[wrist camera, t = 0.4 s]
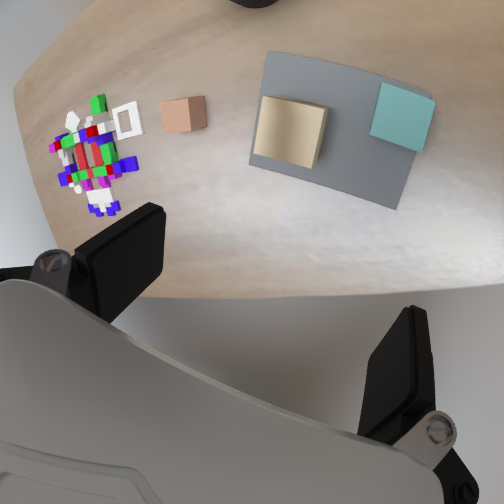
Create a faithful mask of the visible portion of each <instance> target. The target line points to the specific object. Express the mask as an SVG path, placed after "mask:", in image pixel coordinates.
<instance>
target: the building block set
mask: <svg viewBox="0 0 504 504" xmlns="http://www.w3.org/2000/svg"><path fill="white" fill-rule="evenodd" d="M90 100H91V101H90V105H91V110H92V115H91V116H89V117H86V122H87V123H85V124H84V126H85V128H84V129H82V130H79V126H80V124H81V122H82V120H83V119H82V118H81V117H80V116H79V114H78V113H77V112H76V111H75V110H74V111H71V112H69V113H68V115H67V120H66V125H65V127H66V128H68V129H69V130H71V132H72V134H70V135H69V133H66V134H63V135H60V136H57V137H55V141H56V142H54V143H52V144H50V145H48V146H49V150H50V153H53V152H56V151H58V154H59V158H62V162H63V166H65V170H66V172H63V173H59V174H58V178H59V181H60V185H61V186H65V185H69V186H70V187H74V190H75V192H76V194H78V193H82V192H83V191H84V189H86V192H87V196H88V199H89V203H90V204H88V208H89V211H90V213H96V216H97V217H101V216H104V213H103V212H107V214H108V216H114V215H116V213H115V211H120V210H121V208H120V204H119V201H115V198H114V194H113V191H112V187H111V183H110V180H112V179H116V178H119V177H121V176H122V172H123V173H125V172H131V171H137V170H139V166H138V162H137V158H136V156H133V157H128V158H124V159H120V161H119V160H118V156H117V152H115V150H114V145H113V142H112V141H113V136H112V132H111V131H114V130H116V132H117V137H118V140H121V139H125V138H128V137H132V136H136V135H140V134H144V133H145V132H144V127H143V122H142V117H141V112H140V107H139V101H138V100H137V101H134V102H131V103H128V104H125V105H122V106H120V107H117V108H114V109H112V112H113V118H114V120H110V121H109V117H108V112H106V109H105V104H104V103H106V101H105V95H104V94H102V95H98V96H95V97H93V98H91V99H90ZM125 110H128V111H129V116H130V121H131V126H132V131H129V132H125V133H124V132H123V128H122V123H121V118H120V112H123V111H125ZM85 141H88V144H89V143H90V144H91V148H92V152H93V156H94V160H95V165H96V167H91V168H89V166H88V162H87V158H86V154H85V149H84V145H83V142H85ZM72 146H75V151H76V155H77V159H78V163H79V167H80V170H79V171H78V169H77V165H76V163H74V162H73V157H72V154H73V150H72ZM94 177H98V181H99V185H100V186H102V187H103V188H99V189H93V185H92V181H91V178H94ZM80 180H81V182H80ZM81 183H82V184H81Z"/></svg>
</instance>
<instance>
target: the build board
mask: <svg viewBox="0 0 504 504" xmlns="http://www.w3.org/2000/svg"><path fill="white" fill-rule="evenodd" d="M382 82H383V83H386V84H389V85H392V86H395V87H398V88H401V89H404V90H407V91H410V92H412V93H415V94H418V95H420V96H423V97H426V98H428V99H430V95H431V93H428V92H426V91H423V90H421V89H418V88H415V87H412V86H410V85H407V84H404V83H401V82H398V81H395V80H392V79H389V78H386V77H383V76H380V75H376V74H373V73H370V72H366V71H363V70H359V69H355V68H352V67H348V66H344V65H340V64H335V63H331V62H327V61H322V60H317V59H312V58H307V57H302V56H296V55H291V54H284V53H278V52H271V51H268V52H267V58H266V64H265V70H264V75H263V81H262V87H261V93H260V99H259V105H258V111H257V117H256V123H255V129H254V136H253V142H252V148H251V154H250V161H249V165H251V166H255V167H259V168H263V169H266V170H270V171H274V172H277V173H281V174H285V175H288V176H292V177H295V178H299V179H302V180H305V181H309V182H312V183H315V184H319V185H322V186H325V187H328V188H332V189H335V190H338V191H341V192H344V193H347V194H350V195H353V196H356V197H359V198H362V199H365V200H368V201H371V202H374V203H377V204H380V205H382V206H385V207H388V208H391V209H394V210H396V208H397V205H398V202H399V199H400V197H401V194H402V191H403V188H404V185H405V182H406V179H407V176H408V173H409V170H410V167H411V164H412V160H413V157H414V154H415V151H414V150H412V149H409V148H406V147H404V146H401V145H398V144H395V143H393V142H390V141H387V140H384V139H381V138H378V137H375V136H372V135H369V128H370V124H371V120H372V116H373V112H374V108H375V103H376V99H377V95H378V90H379V86H380V84H381V83H382ZM272 95H279V96H284V97H289V98H293V99H298V100H302V101H307V102H311V103H315V104H319V105H323V106H327V107H331V109H330V114H329V119H328V123H327V128H326V132H325V136H324V141H323V145H322V149H321V154H320V158H319V160H318V161H317V162H316V163H315V165H314V166H313V167H312V168H311V169H310V168H307V167H303V166H300V165H296V164H292V163H289V162H285V161H281V160H278V159H274V158H270V157H266V156H262V155H258V154H254V146H255V140H256V134H257V128H258V122H259V116H260V110H261V104H262V98H263V96H272Z"/></svg>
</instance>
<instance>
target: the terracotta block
mask: <svg viewBox="0 0 504 504" xmlns="http://www.w3.org/2000/svg"><path fill="white" fill-rule="evenodd" d="M160 107H161V115H162V123H163V131H164V133H175V132H187V131H193V130H196V129H199V128H202V127H205V126H207V120H206V108H205V96H198V97H190V98H183V99H176V100H171V101H165V102H160Z"/></svg>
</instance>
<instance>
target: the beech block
mask: <svg viewBox="0 0 504 504" xmlns="http://www.w3.org/2000/svg"><path fill="white" fill-rule="evenodd" d="M330 109H331V107H327V106H323V105H319V104H315V103H311V102H307V101H302V100H298V99H293V98H289V97H284V96H279V95H272V96H263V98H262V104H261V110H260V116H259V122H258V128H257V134H256V140H255V146H254V154H258V155H262V156H266V157H270V158H274V159H278V160H281V161H285V162H289V163H292V164H296V165H300V166H303V167H307V168H310V169H311V168H312V167H313V166H314V165H315V163H316V162H317V161H318V160H319V158H320V154H321V149H322V145H323V141H324V136H325V132H326V128H327V123H328V119H329V114H330Z"/></svg>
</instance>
